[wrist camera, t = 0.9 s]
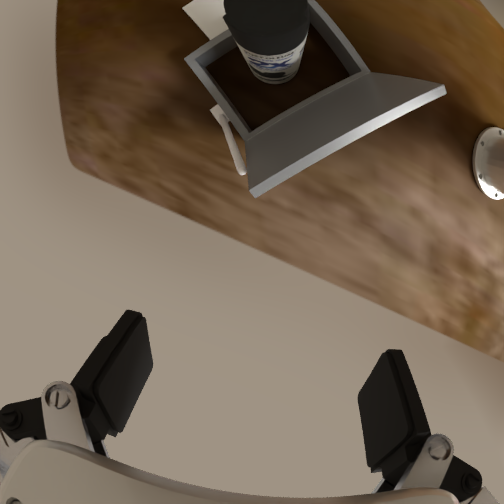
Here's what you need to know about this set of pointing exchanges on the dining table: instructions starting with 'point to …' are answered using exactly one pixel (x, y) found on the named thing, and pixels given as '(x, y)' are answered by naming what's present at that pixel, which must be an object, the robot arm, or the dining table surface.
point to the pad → (208, 16)
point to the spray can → (269, 35)
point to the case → (311, 109)
